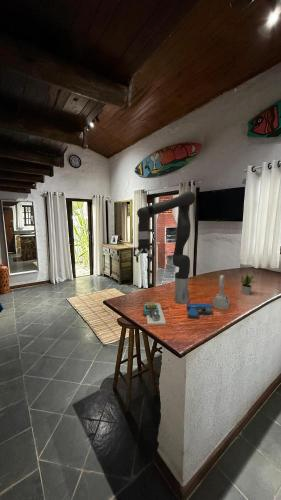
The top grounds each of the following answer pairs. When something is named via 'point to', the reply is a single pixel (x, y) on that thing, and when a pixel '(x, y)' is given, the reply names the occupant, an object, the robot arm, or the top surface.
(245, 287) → the house plant
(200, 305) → the stun gun
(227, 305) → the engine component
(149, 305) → the yellow cube
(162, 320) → the base plate
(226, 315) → the top surface
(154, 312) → the shaft
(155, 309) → the cradle
